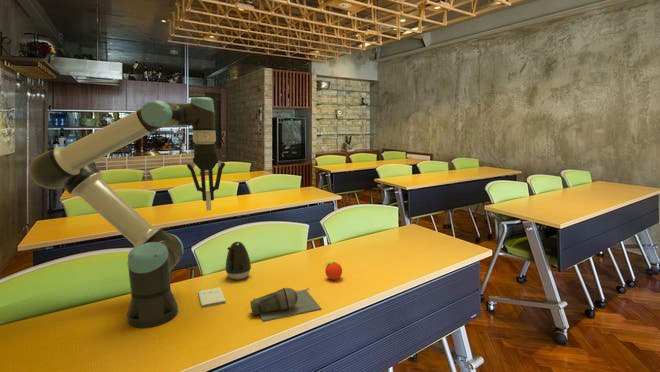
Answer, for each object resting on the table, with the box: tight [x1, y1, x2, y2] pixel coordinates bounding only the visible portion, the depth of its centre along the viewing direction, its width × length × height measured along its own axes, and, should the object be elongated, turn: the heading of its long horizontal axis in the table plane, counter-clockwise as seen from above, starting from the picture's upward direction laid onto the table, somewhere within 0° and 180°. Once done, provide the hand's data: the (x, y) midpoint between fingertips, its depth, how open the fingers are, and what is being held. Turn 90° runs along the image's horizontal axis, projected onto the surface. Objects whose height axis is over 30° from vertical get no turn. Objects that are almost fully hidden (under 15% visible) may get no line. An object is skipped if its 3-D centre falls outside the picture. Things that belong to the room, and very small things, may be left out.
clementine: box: [323, 261, 343, 281], centre depth 151 cm, size 8×7×7 cm
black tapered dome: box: [224, 241, 252, 281], centre depth 153 cm, size 10×10×15 cm
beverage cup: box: [249, 287, 310, 316], centre depth 125 cm, size 7×7×20 cm
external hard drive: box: [197, 287, 227, 309], centre depth 136 cm, size 2×8×12 cm
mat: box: [252, 289, 322, 322], centre depth 130 cm, size 20×16×1 cm
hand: (208, 209), depth 133 cm, fingers closed
